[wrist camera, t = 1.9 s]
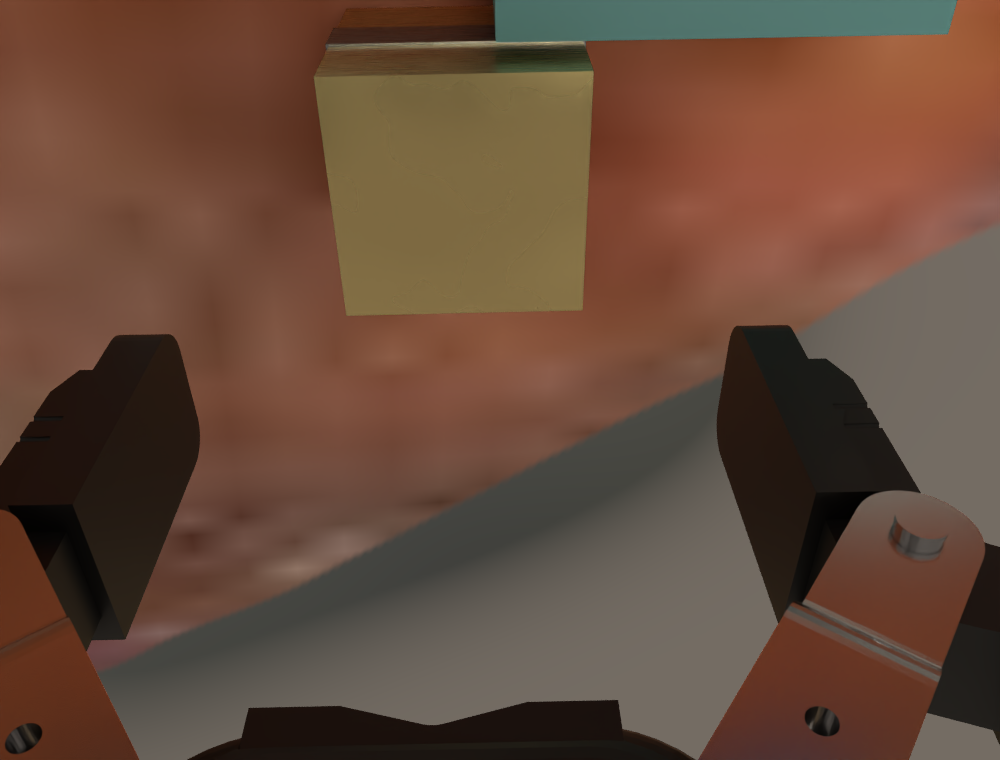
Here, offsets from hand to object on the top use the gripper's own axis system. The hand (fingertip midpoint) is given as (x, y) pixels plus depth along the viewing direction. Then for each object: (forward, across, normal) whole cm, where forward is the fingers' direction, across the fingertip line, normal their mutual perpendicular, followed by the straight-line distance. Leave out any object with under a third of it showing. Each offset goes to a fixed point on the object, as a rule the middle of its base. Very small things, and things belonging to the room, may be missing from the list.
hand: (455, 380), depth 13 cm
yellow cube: (+10, 0, 0) cm, 11 cm away
